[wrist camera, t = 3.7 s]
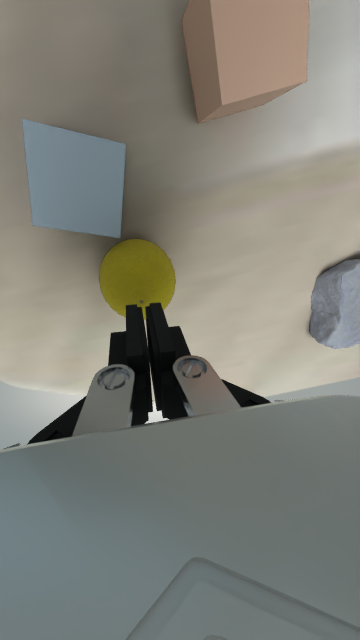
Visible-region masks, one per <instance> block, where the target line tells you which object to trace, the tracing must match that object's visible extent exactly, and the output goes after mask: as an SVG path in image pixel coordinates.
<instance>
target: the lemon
mask: <svg viewBox="0 0 360 640" xmlns="http://www.w3.org/2000/svg"><path fill="white" fill-rule="evenodd" d="M99 282H100V288H101V291H102V294H103V296H104V298H105V300H106V302H107V303H108V304H109V305H110V307H111V308H112V309H113V310H115V311H116V312H117V313H118V314H120V315H122V316H124V317H126V305H133V304H137V307H142V311H143V318H144V319H146V310H145V306H149V303H158V302H161V305H162V308H163V310H164V309H165V308H166V307H167V305H168V304H169V303H170V301H171V299H172V297H173V294H174V290H175V283H176V279H175V271H174V268H173V265H172V263H171V260H170V259H169V257H168V256H167V255H166V253H165V252H164V251H163V250H162V249H161V248H160V247H158V246H157V245H156V244H154V243H152V242H149V241H147V240H142V239H128V240H125V241H122V242H120V243H118V244H117V245H115V246H114V247H112V248H111V249H110V250H109V251H108V253H107V254H106V255H105V257H104V259H103V261H102V263H101V266H100V273H99Z"/></svg>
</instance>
